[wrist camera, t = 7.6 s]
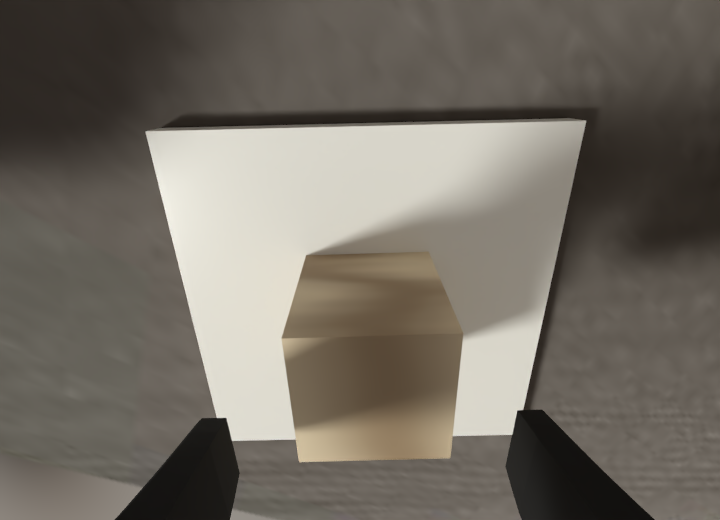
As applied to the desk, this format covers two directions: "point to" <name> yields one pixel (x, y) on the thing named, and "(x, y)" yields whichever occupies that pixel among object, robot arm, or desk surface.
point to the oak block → (372, 358)
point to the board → (366, 242)
